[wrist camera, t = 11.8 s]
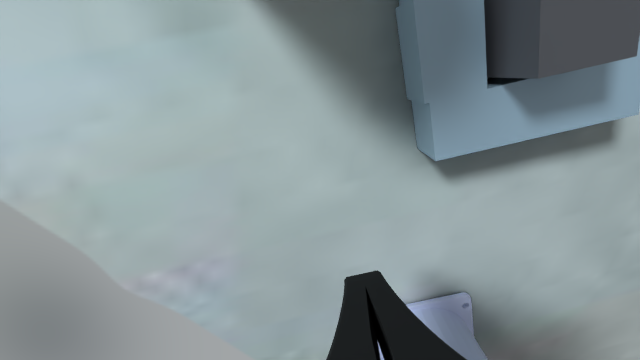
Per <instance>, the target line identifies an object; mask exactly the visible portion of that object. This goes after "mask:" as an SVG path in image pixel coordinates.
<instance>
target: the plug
mask: <svg viewBox="0 0 640 360" xmlns="http://www.w3.org/2000/svg"><path fill="white" fill-rule="evenodd" d="M484 14H485V40H486V66H487V77H496V78H529V79H540V78H544V77H548V76H553V75H557V74H562V73H566V72H570V71H575V70H579V69H583V68H588V67H592V66H597V65H601V64H605V63H610V62H614V61H619V60H623V59H627V58H632V57H636V56H637V51H638V43H639V36H640V0H484Z"/></svg>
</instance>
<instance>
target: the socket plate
mask: <svg viewBox="0 0 640 360" xmlns="http://www.w3.org/2000/svg"><path fill="white" fill-rule="evenodd" d="M395 10H396V18H397V26H398V33H399V41H400V49H401V56H402V64H403V72H404V79H405V87H406V95H407V99H409V100H411V102H412V110H413V118H414V126H415V134H416V141H417V148H418V149H419V150H420V151H422V152H423V153H425V154H426V155H428V156H429V157H430V158H432V159H433V160H435V161H439V160H443V159H448V158H452V157H456V156H461V155H465V154H469V153H474V152H478V151H482V150H487V149H491V148H495V147H500V146H504V145H508V144H513V143H517V142H521V141H526V140H530V139H534V138H538V137H543V136H547V135H551V134H556V133H560V132H564V131H569V130H573V129H577V128H582V127H586V126H590V125H595V124H599V123H603V122H608V121H612V120H616V119H620V118H625V117H629V116H633V115H638V114H639V107H640V36H639V43H638V51H637V56H636V57H632V58H627V59H623V60H619V61H614V62H610V63H605V64H601V65H597V66H592V67H588V68H583V69H579V70H575V71H570V72H566V73H562V74H557V75H553V76H548V77H544V78H540V79H529V78H496V77H495V78H491V79H487V66H486V40H485V14H484V0H399V6H398V7H397V8H396V9H395Z"/></svg>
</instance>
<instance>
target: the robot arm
mask: <svg viewBox="0 0 640 360" xmlns="http://www.w3.org/2000/svg"><path fill="white" fill-rule="evenodd" d="M344 283H345V286H344V296H343V303H342V308H341V312H340V317H339V321H338V325H337V329H336V332H335V336H334V339H333V342H332V345H331V348H330V351H329V354H328V357H327V359H326V360H488V359H487V357H486V355H485V354H484V352H483V351H482V349H481V347H480V346H479V344H478V343H477V341H476V339H475V338H474V329H473V315H472V302H471V297H470V295H469V294H468V293H465V292H463V293H458V294H453V295H448V296H443V297H439V298H434V299H429V300H424V301H420V302H415V303H410V304H404V303H403V301H402V300H401V299H400V298H399V297H398V296H397V295H396V293H395V292H394V291H393V290H392V288H391V287H390V286H389V284H388V283H387V282H386V280H385V279H384V277H383V276H382V274H381V272H379V271H373V272H368V273H364V274H359V275H354V276H350V277H346V279H345V280H344ZM464 303H465V304H464ZM463 304H464V305H463Z"/></svg>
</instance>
